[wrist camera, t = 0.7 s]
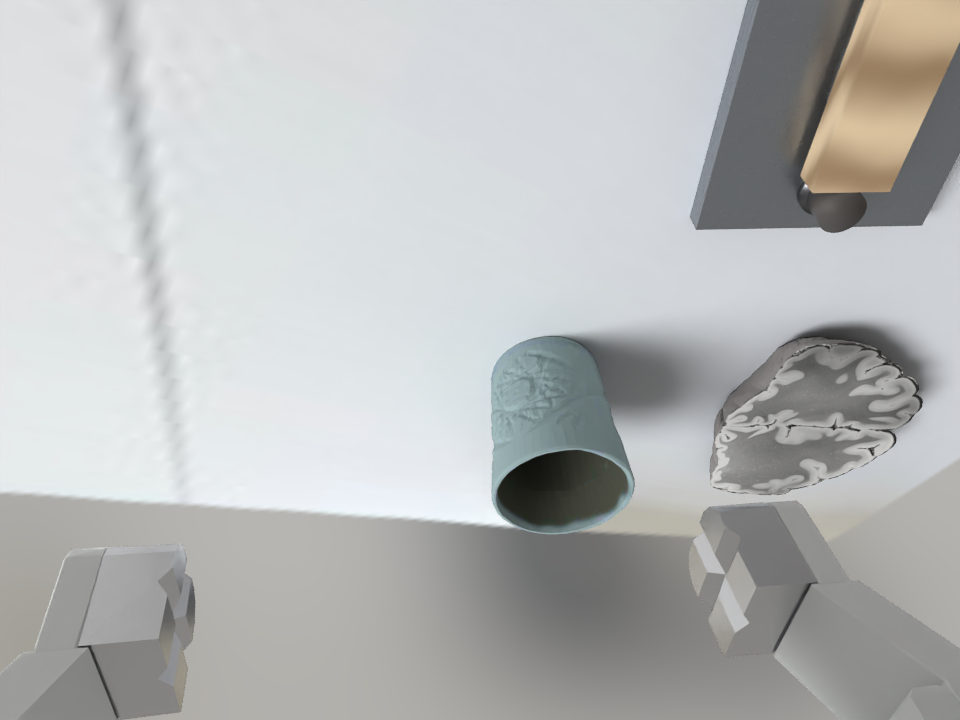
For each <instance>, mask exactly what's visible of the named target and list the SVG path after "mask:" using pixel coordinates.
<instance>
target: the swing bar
mask: <svg viewBox="0 0 960 720" xmlns="http://www.w3.org/2000/svg"><path fill="white" fill-rule="evenodd" d="M959 43H960V0H865V1H864V3H863V6H862V9H861V12H860V14H859V17H858V20H857V22H856V25H855V28H854V31H853V33H852V36H851V39H850V41H849V44H848V47H847V50H846V52H845V55H844V58H843V60H842V63H841V66H840V69H839V71H838V74H837V77H836V80H835V82H834V85H833V88H832V90H831V93H830V96H829V99H828V101H827V104H826V107H825V109H824V112H823V115H822V118H821V120H820V123H819V126H818V128H817V131H816V134H815V137H814V139H813V142H812V145H811V148H810V150H809V153H808V156H807V158H806V161H805V164H804V167H803V169H802V172H801V175H800V176H801V178H802V179H803V180H804V182H805V183H806V185H807V186H808V188H809V189H810V192H809V194H808V196H807V200H806V204H807V208H808V209H809V211H810V212H811V214H812V215H813V217H814V218H815V220H816V221H817V223H818V224H819V226H820V227H821V228H822V229H823V230H824V231H827V232H831V233H836V232H842V231H845V230H847V229H849V228H851V227H853V226H854V225H855V224H857V223H858V222H859V221H860V220H861V219H862V217H863V216H864V214H865V212H866V209H867V202H866V199H865V198H864V197H863V195H862V194H861V193H860V192H890V191H891V188H892V186H893V184H894V182H895V180H896V178H897V176H898V173H899V171H900V169H901V167H902V165H903V163H904V161H905V158H906V156H907V154H908V152H909V150H910V148H911V146H912V143H913V141H914V139H915V137H916V135H917V133H918V131H919V128H920V126H921V124H922V122H923V120H924V118H925V116H926V113H927V111H928V109H929V107H930V105H931V103H932V101H933V98H934V96H935V94H936V92H937V90H938V88H939V86H940V83H941V81H942V79H943V77H944V75H945V73H946V71H947V68H948V66H949V64H950V62H951V60H952V58H953V56H954V53H955V51H956V49H957V47H958V45H959Z"/></svg>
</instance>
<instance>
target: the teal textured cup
mask: <svg viewBox="0 0 960 720" xmlns="http://www.w3.org/2000/svg"><path fill="white" fill-rule="evenodd" d="M491 402H492V414H491V420H492V438H493V442H494V449H493V452H492V453H493V462H492V502H493V505H494V507H495V509H496V511H497V513H498V514H499V515H500V516H501V517H502V518H503V519H504V520H506V521H507V522H509V523H510V524H512V525H514V526H515V527H518V528H520V529H523V530H526V531H529V532H535V533H541V534H565V533H573V532H578V531H582V530H585V529H589V528H592V527H595V526H597V525H600V524H602V523H604V522H605V521H607V520H609V519H611V518H612V517H614V516H615V515H616V514H618V513H619V512H620V511H621V510H622V509H623V508H624V507H625V506H626V505H627V504H628V502H629V501H630V499H631V497H632V494H633V492H634V486H635V483H634V477H633V474H632V471H631V468H630V465H629V462H628V459H627V456H626V453H625V450H624V446H623V443H622V441H621V438H620V436H619V434H618V432H617V429H616V427H615V425H614V423H613V418H612V415H611V408H610V405H609V403H608V402H607V400H606V399H605V391H604V387H603V383H602V380H601V377H600V374H599V371H598V368H597V365H596V362H595V360H594V358H593V356H592V355H591V354H590V352H589V351H588V350H587V349H586V348H585V347H583V346H582V345H581V344H579V343H577V342H575V341H573V340H570V339H567V338H562V337H539V338H534V339H530V340H527V341H524V342H522V343H519V344H517V345H515V346H514V347H512V348H511V349H509V350H508V351H506V352H505V353H504V354H503V355H502V356H501V357H500V359H499V360H498V361H497V363H496V365H495V366H494V370H493V373H492V378H491Z"/></svg>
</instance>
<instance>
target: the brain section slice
mask: <svg viewBox="0 0 960 720" xmlns="http://www.w3.org/2000/svg"><path fill="white" fill-rule="evenodd" d="M783 346H784V345H783ZM783 346H781V347H779V348H778V349H776V351H775V352H774V353H773V354H772V355H771V356H770V357H769V358H768V360H767V361H766V362H765V363H764V364H763V365H762V366H761V367H759V368H758V369H757V370H756V371H755V372H754V373H753V374H752V375H751V376H750V377H749V378H748V379H747V380H745V381H744V382H743V383H742V384H741V385H740V386H739V387H738V388H737V390H736V391H734V392H733V393H732V394H731V395H730V396H729V398H728V399H727V401H726V402H725V404H724V407H723V409H722V410H721V411H720V412H719V414H718V415H717V417H716V420H715V424H714V443H713V448H712V450H713V454H712V456H711V459H710V482H711V486H712V487H714V488H717V489H720V490H723V491H727V492H732V493H748V494H759V495H771V494H774V495H782V494H786V493H788V492H789V491H790V490H792V489H798V488H802V487H807V486H811V485H815V484H817V483H819V482H821V481H822V480H825V479H831V478H835V477H838V476H840V475H843V474H845V473H847V472H848V471H850V470H852V469H855V468H859V467H862V466H864V465H866V464H868V463H869V462H871V461H873V460H874V459H875V458H876V457H877V456H880V455H882V454H884V453H885V452H887V451H888V450H889V449H891V448H892V447H893V446H894V444H895V443H896V436H895V434H894V433H892V432H891V431H889V429H894V428H897V427H900V426H902V425H904V424H906V423H908V422H909V421H910V420H911V419H912V417H913V416H914V415H915V413H917V412H918V411H919V410H920V409H921V408H922V403H923V401H922V398H921V397H919V396H918V395H915V394H916V393H917V392H918V390H919V385H918V384H917V382H916V381H915V380H914V379H913V378H912V377H909V376H904V375H903V370H902V369H901V367H900V366H898V365H897V364H895V363H893V362H891V361H890V360H889V359H888V358H887V357H885V356H884V355H882V354H881V351H880V350H878V349H876V348H874V347H873V346H870V345H866V344H862V343H858V342H853V341H846V340H828V339H826V338H823V337H813V338H803V339H798V340H795V341H792V342H790V343H788V344H786V345H785V346H784V347H783Z"/></svg>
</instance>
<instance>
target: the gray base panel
mask: <svg viewBox="0 0 960 720" xmlns="http://www.w3.org/2000/svg"><path fill="white" fill-rule="evenodd" d="M864 1H865V0H748V1H747V5H746V9H745V13H744V16H743V20H742V24H741V28H740V31H739V35H738V39H737V43H736V46H735V50H734V54H733V58H732V61H731V65H730V69H729V73H728V76H727V80H726V84H725V88H724V91H723V95H722V99H721V103H720V106H719V110H718V114H717V118H716V121H715V125H714V129H713V133H712V136H711V140H710V144H709V148H708V151H707V155H706V159H705V163H704V166H703V170H702V174H701V178H700V181H699V185H698V189H697V193H696V196H695V200H694V204H693V208H692V211H691V215H690V218H691V220H692V222H693V224H694V226H695V228H696V230H705V229H759V228H812V227H820V226H819V224H818V223H817V221H816V220H815V218H814V217H813V215H812V214H811V212H810V211H809V209H808V208H807V204H806V200H807V196H808V194H809V192H810V189H809V188H808V186H807V185H806V183H805V182H804V180H803V179H802V178H801V176H800V175H801V172H802V169H803V167H804V164H805V161H806V158H807V156H808V153H809V150H810V148H811V145H812V142H813V139H814V137H815V134H816V131H817V128H818V126H819V123H820V120H821V118H822V115H823V112H824V109H825V107H826V104H827V101H828V99H829V96H830V93H831V90H832V88H833V85H834V82H835V80H836V77H837V74H838V71H839V69H840V66H841V63H842V60H843V58H844V55H845V52H846V50H847V47H848V44H849V41H850V39H851V36H852V33H853V31H854V28H855V25H856V22H857V20H858V17H859V14H860V12H861V9H862V6H863V3H864ZM959 153H960V43H959V45H958V47H957V49H956V51H955V53H954V56H953V58H952V60H951V62H950V64H949V66H948V68H947V71H946V73H945V75H944V77H943V79H942V81H941V83H940V86H939V88H938V90H937V92H936V94H935V96H934V98H933V101H932V103H931V105H930V107H929V109H928V111H927V113H926V116H925V118H924V120H923V122H922V124H921V126H920V128H919V131H918V133H917V135H916V137H915V139H914V141H913V143H912V146H911V148H910V150H909V152H908V154H907V156H906V158H905V161H904V163H903V165H902V167H901V169H900V171H899V173H898V176H897V178H896V180H895V182H894V184H893V186H892V188H891V191H890V192H860V193H861V194H862V195H863V197H864V198H865V199H866V202H867V209H866V212H865V214H864V216H863V217H862V219H861V220H860V221H859V222H858V223H857V224H855V225H854V226H853V227H866V226H919V225H922V224H923V222H924V221H925V219H926V217H927V215H928V213H929V211H930V209H931V207H932V205H933V203H934V201H935V199H936V197H937V195H938V193H939V192H940V190H941V188H942V186H943V184H944V182H945V180H946V178H947V176H948V174H949V172H950V170H951V168H952V166H953V165H954V163H955V161H956V159H957V157H958V155H959Z"/></svg>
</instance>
